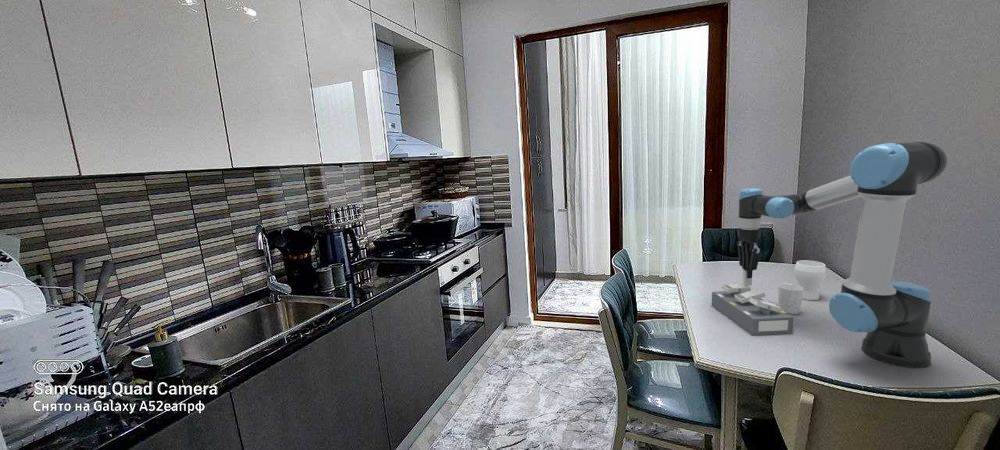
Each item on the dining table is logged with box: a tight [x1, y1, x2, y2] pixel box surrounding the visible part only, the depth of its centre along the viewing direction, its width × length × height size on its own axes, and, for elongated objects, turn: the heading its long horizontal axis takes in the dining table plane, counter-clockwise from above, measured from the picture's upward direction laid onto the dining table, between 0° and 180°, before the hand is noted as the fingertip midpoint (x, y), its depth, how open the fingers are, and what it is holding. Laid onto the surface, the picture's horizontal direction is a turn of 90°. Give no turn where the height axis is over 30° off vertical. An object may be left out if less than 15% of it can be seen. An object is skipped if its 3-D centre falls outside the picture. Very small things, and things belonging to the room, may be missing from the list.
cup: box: [793, 259, 827, 301], centre depth 169 cm, size 11×11×15 cm
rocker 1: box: [721, 283, 752, 292], centre depth 160 cm, size 5×9×2 cm, turn 89°
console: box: [711, 290, 795, 336], centre depth 152 cm, size 28×14×8 cm, turn 179°
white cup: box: [778, 283, 803, 315], centre depth 157 cm, size 8×8×10 cm
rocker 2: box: [734, 288, 766, 303], centre depth 152 cm, size 5×9×2 cm, turn 89°
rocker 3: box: [749, 297, 782, 313], centre depth 143 cm, size 5×9×2 cm, turn 89°
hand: (747, 284), depth 160 cm, fingers closed
